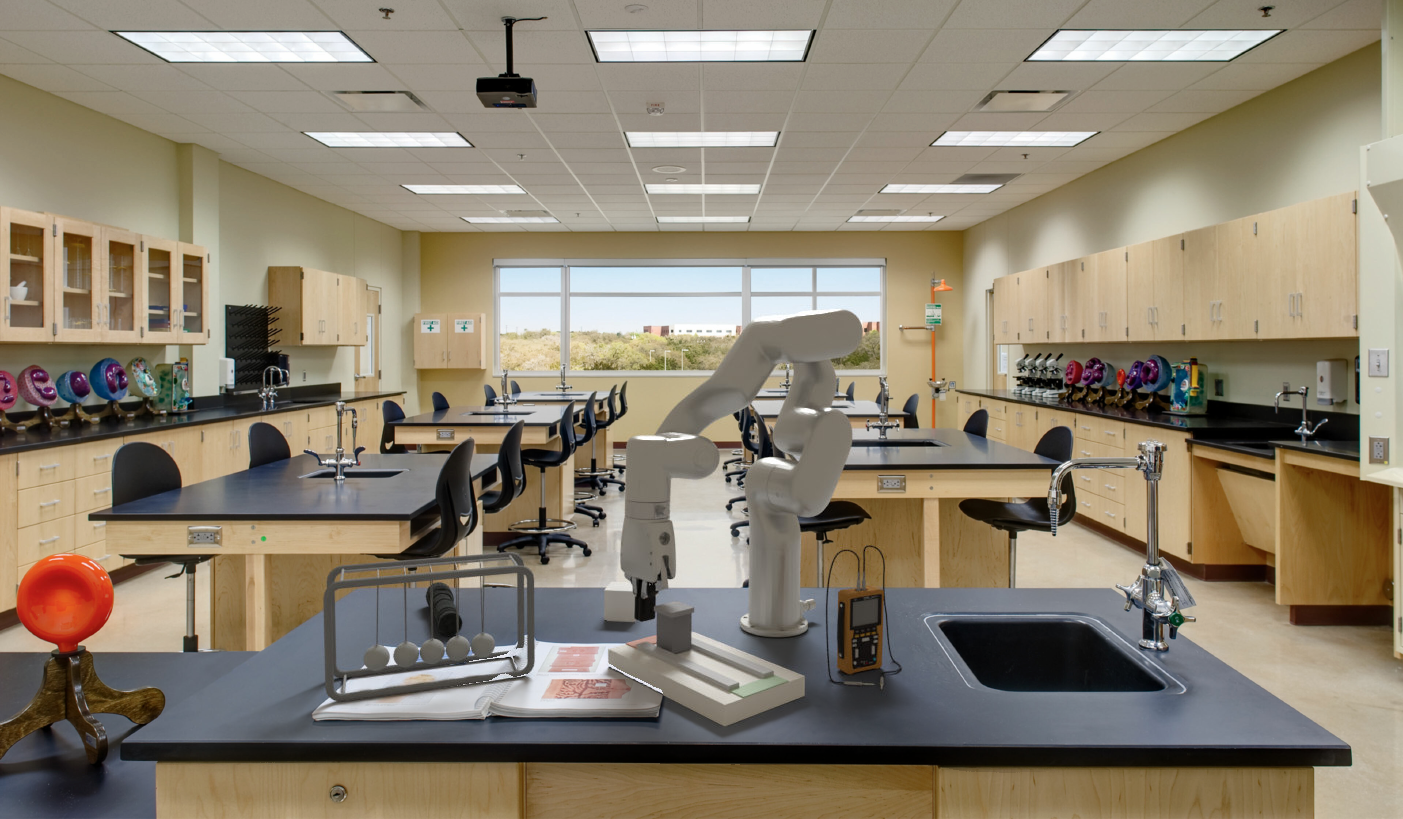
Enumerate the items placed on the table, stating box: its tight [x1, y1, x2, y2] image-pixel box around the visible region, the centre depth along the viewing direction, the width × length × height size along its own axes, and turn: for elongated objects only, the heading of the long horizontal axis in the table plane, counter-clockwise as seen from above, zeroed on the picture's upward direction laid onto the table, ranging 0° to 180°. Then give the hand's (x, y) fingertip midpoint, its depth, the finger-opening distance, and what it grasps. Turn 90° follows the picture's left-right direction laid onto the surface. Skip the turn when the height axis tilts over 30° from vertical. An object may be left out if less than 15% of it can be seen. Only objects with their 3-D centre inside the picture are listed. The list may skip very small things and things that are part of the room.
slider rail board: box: [607, 631, 806, 727], centre depth 128 cm, size 16×28×4 cm, turn 41°
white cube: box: [603, 581, 637, 623], centre depth 160 cm, size 6×6×6 cm
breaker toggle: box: [654, 600, 695, 654], centre depth 133 cm, size 5×5×7 cm
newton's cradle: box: [322, 551, 536, 703], centre depth 129 cm, size 30×10×18 cm, turn 112°
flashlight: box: [425, 581, 463, 637], centre depth 157 cm, size 5×21×5 cm, turn 23°
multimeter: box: [825, 545, 902, 690], centre depth 130 cm, size 15×10×20 cm
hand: (644, 619), depth 138 cm, fingers closed
